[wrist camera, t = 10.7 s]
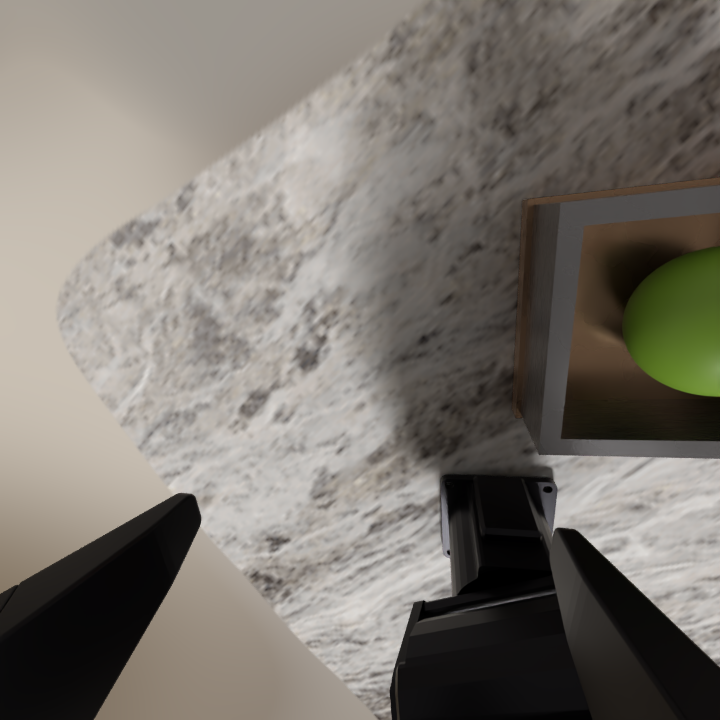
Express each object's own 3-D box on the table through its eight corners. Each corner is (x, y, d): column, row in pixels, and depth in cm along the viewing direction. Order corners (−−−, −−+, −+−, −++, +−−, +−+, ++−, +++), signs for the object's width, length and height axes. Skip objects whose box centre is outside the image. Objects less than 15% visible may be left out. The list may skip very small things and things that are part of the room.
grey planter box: (741, 408, 18) (834, 466, 14) (511, 408, 20) (532, 458, 16) (816, 166, 14) (974, 147, 10) (522, 199, 16) (553, 195, 12)
